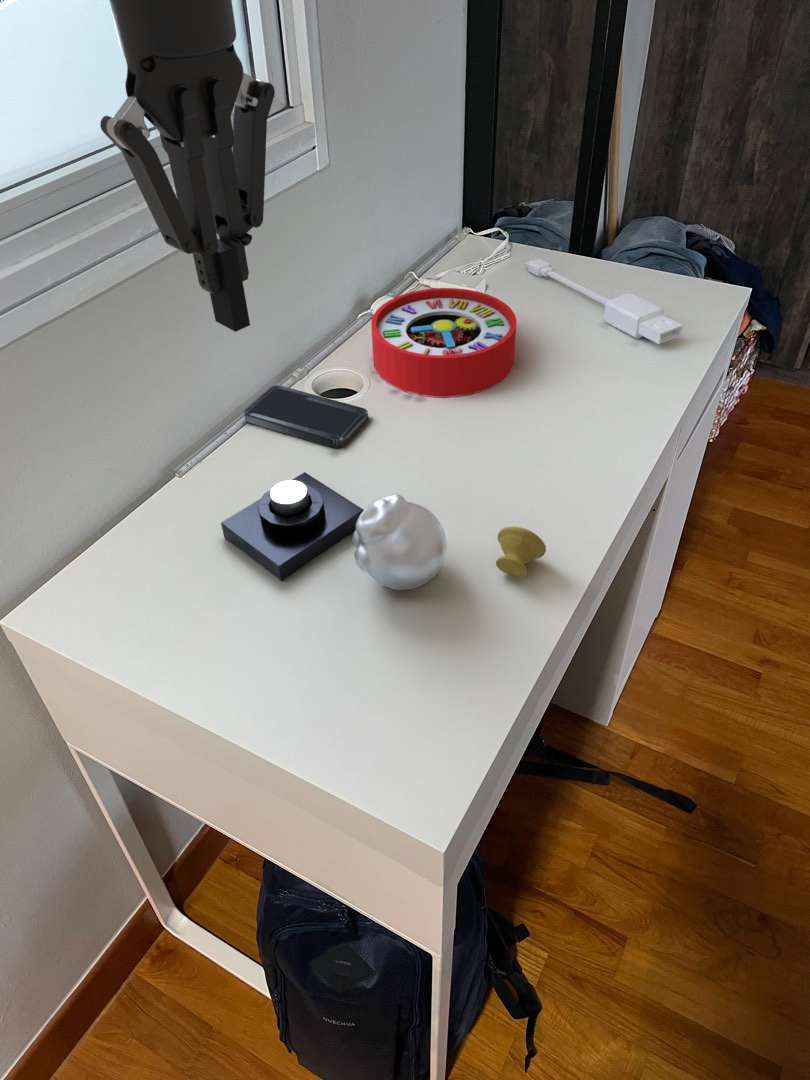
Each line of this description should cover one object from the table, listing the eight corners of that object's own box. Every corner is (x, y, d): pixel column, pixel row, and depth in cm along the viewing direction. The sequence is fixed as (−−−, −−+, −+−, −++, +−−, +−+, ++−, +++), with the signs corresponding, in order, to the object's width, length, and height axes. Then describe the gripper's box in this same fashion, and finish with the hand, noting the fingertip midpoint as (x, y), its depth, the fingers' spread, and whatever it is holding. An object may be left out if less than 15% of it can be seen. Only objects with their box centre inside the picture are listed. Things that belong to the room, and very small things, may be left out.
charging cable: (540, 268, 139) (541, 248, 136) (681, 340, 117) (685, 318, 115) (516, 276, 137) (516, 256, 135) (655, 350, 115) (659, 328, 113)
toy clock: (497, 281, 121) (533, 349, 106) (496, 318, 125) (530, 388, 110) (363, 295, 119) (380, 365, 104) (365, 331, 123) (383, 404, 108)
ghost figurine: (385, 535, 89) (380, 462, 83) (461, 564, 86) (463, 491, 79) (338, 587, 84) (329, 513, 77) (418, 621, 80) (415, 547, 73)
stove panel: (281, 581, 85) (276, 553, 82) (223, 537, 90) (217, 510, 87) (365, 524, 91) (363, 496, 88) (306, 486, 96) (302, 459, 93)
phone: (340, 442, 100) (240, 413, 106) (340, 450, 101) (241, 420, 106) (371, 409, 105) (274, 383, 111) (372, 417, 106) (275, 390, 111)
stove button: (288, 524, 86) (286, 509, 85) (264, 507, 88) (261, 492, 87) (317, 505, 88) (315, 490, 87) (293, 489, 90) (291, 475, 89)
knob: (501, 546, 88) (503, 510, 84) (547, 559, 86) (551, 524, 82) (484, 574, 84) (486, 539, 81) (532, 589, 83) (536, 553, 79)
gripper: (216, -44, 56) (266, 282, 72) (40, -14, 49) (138, 338, 65) (286, -35, 52) (323, 308, 68) (104, -1, 45) (193, 371, 61)
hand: (232, 322), depth 67 cm, fingers closed
